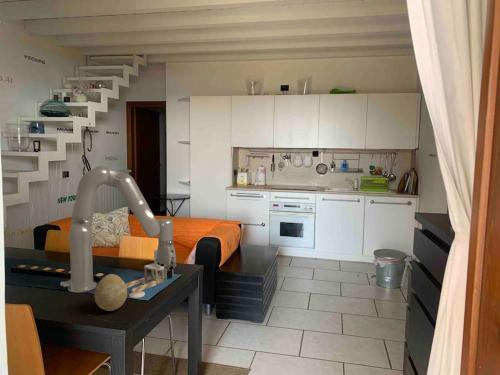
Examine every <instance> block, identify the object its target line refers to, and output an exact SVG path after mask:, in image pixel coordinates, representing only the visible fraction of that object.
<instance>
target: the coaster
mask: <svg viewBox="0 0 500 375" xmlns="http://www.w3.org/2000/svg"><path fill="white" fill-rule="evenodd" d="M145 296H146V292H145V291H144V290H141V291H135V292H132V291H131V292H129V294H128V297H129V298H130V299H139V298H144V297H145Z"/></svg>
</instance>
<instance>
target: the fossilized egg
mask: <svg viewBox="0 0 500 375" xmlns="http://www.w3.org/2000/svg"><path fill="white" fill-rule="evenodd" d="M125 284H126V283H125V281H124V280H123V279H122V278H121V277H120V276H119V275H117V274H114V273H110V274H107V275H105V276H104V277H102V278H101V279H100V280H99V282H97V286H96V287H95V288H94V297H93V298H94V302H95V303H96V305H97V306H98V307H99V309H102V311H107V312H112V311H116V310H118V309H119V308H121V307H122V306H123V305H124V303H125V302H126V300H127V297H128V288H127V287H126V285H125Z"/></svg>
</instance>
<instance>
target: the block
mask: <svg viewBox="0 0 500 375" xmlns="http://www.w3.org/2000/svg"><path fill="white" fill-rule="evenodd" d="M167 271H168V268H167V266H164V278H165V279H164V280H168V279H167ZM160 274H161V270H160Z"/></svg>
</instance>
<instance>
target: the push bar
mask: <svg viewBox="0 0 500 375" xmlns="http://www.w3.org/2000/svg"><path fill="white" fill-rule="evenodd" d="M149 276H150V275H149ZM143 278H144V277H143ZM140 279H141V278H140ZM158 279H161V274H160V273H158ZM153 281H155V274H154V275H153V276H150V277H147V278H144V279H141V280H140V283H141V285H143V284H147V283H150V282H153Z"/></svg>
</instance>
